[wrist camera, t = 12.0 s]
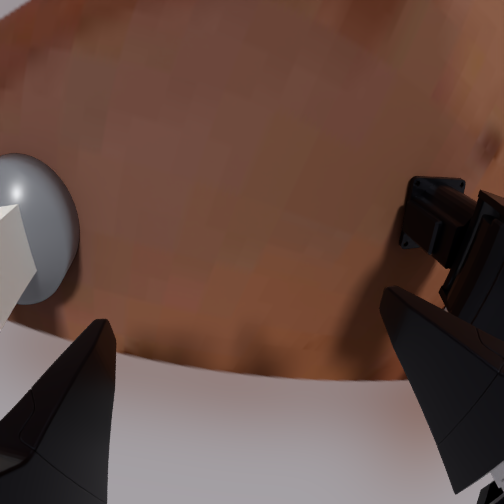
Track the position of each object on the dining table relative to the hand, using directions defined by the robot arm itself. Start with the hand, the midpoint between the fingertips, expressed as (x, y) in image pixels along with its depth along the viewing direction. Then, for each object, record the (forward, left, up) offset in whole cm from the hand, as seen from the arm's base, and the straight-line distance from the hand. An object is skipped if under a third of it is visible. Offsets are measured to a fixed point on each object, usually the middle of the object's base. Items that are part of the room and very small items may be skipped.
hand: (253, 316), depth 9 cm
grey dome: (+16, +1, -13) cm, 21 cm away
